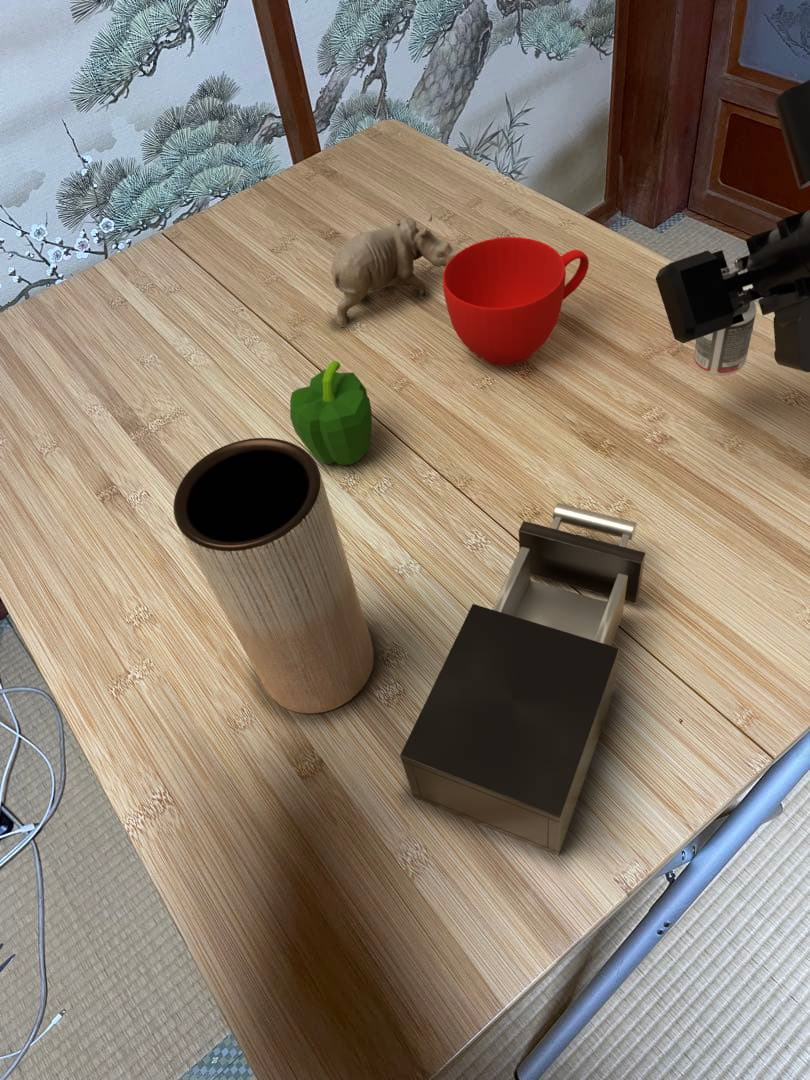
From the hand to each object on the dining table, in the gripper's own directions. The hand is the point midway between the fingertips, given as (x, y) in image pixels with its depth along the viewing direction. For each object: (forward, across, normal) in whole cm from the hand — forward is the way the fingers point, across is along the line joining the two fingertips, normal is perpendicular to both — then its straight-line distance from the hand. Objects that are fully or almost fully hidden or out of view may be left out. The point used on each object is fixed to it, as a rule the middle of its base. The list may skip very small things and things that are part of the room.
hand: (720, 295), depth 75 cm
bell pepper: (+18, -35, -1) cm, 40 cm away
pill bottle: (+4, 0, -6) cm, 7 cm away
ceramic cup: (+23, -11, +4) cm, 26 cm away
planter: (+1, -45, -19) cm, 49 cm away
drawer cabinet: (-8, -33, -28) cm, 44 cm away
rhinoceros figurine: (+34, -21, +15) cm, 43 cm away
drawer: (-3, -24, -21) cm, 32 cm away
